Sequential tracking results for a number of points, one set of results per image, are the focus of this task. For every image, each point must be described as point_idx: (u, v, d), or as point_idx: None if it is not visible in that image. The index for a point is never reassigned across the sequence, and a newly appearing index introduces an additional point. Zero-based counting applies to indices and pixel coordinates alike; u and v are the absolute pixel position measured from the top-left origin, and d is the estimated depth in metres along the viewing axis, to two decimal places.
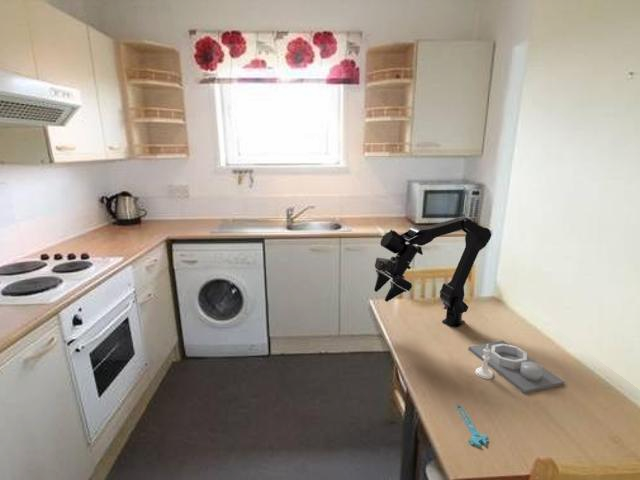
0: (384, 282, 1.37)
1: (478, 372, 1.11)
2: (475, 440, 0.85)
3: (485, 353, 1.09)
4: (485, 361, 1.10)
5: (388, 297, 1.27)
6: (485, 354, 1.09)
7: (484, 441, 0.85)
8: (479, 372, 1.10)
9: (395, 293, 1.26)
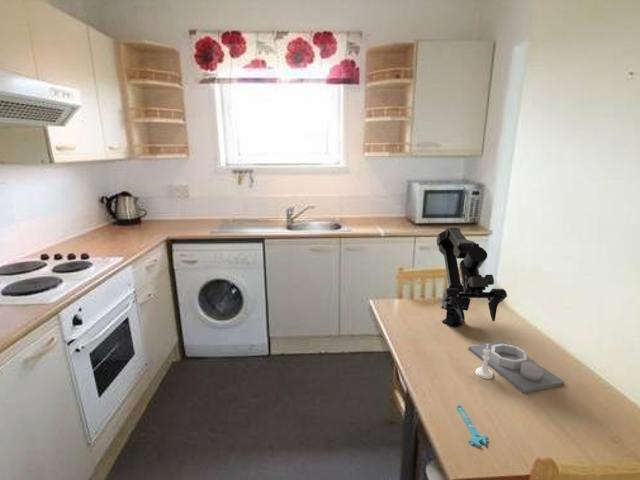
0: None
1: (478, 372, 1.11)
2: (475, 440, 0.86)
3: (485, 353, 1.09)
4: (485, 361, 1.10)
5: None
6: (485, 354, 1.09)
7: (484, 441, 0.85)
8: (479, 372, 1.10)
9: None
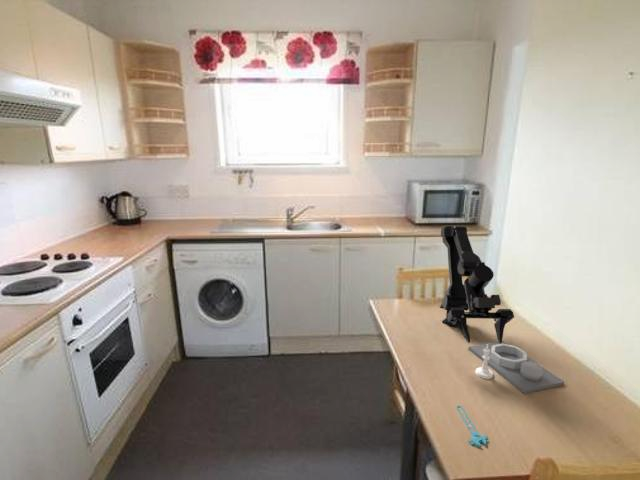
0: None
1: (478, 372, 1.11)
2: (475, 440, 0.86)
3: (485, 353, 1.09)
4: (485, 361, 1.10)
5: None
6: (485, 354, 1.09)
7: (484, 441, 0.85)
8: (479, 372, 1.10)
9: None
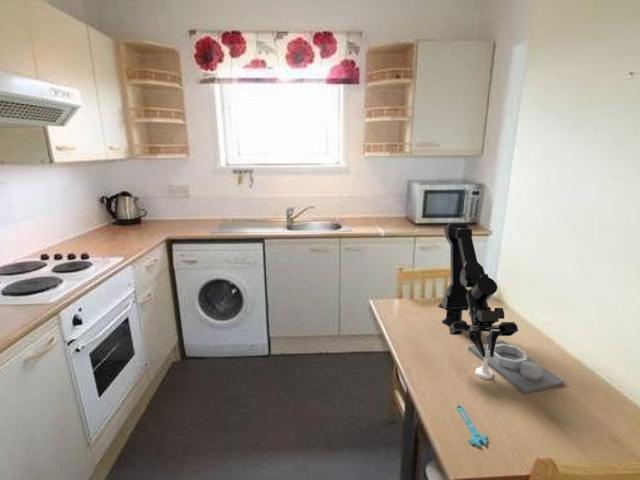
0: None
1: (478, 372, 1.11)
2: (475, 440, 0.86)
3: (485, 353, 1.09)
4: (485, 361, 1.10)
5: None
6: (485, 354, 1.09)
7: (484, 441, 0.85)
8: (479, 372, 1.10)
9: None
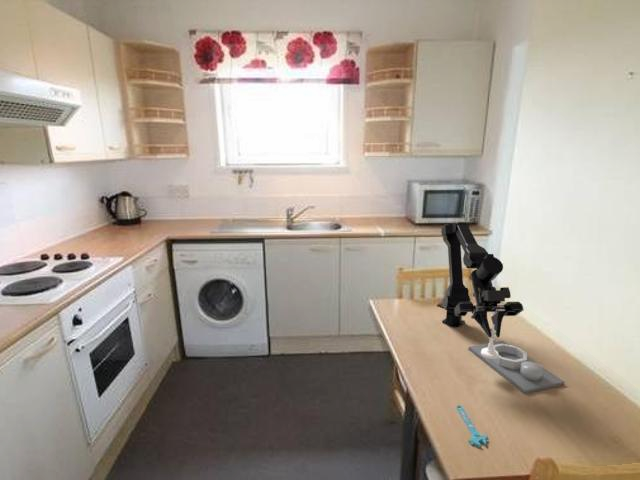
0: None
1: (484, 352, 1.10)
2: (475, 440, 0.86)
3: (491, 333, 1.08)
4: (491, 341, 1.09)
5: None
6: (491, 334, 1.08)
7: (484, 441, 0.85)
8: (485, 352, 1.10)
9: None
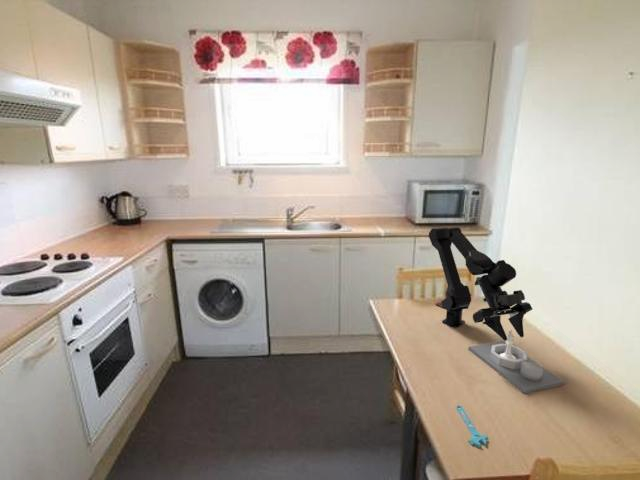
0: None
1: None
2: (475, 440, 0.86)
3: (510, 339, 1.14)
4: (509, 346, 1.15)
5: None
6: (509, 340, 1.15)
7: (484, 441, 0.85)
8: None
9: None
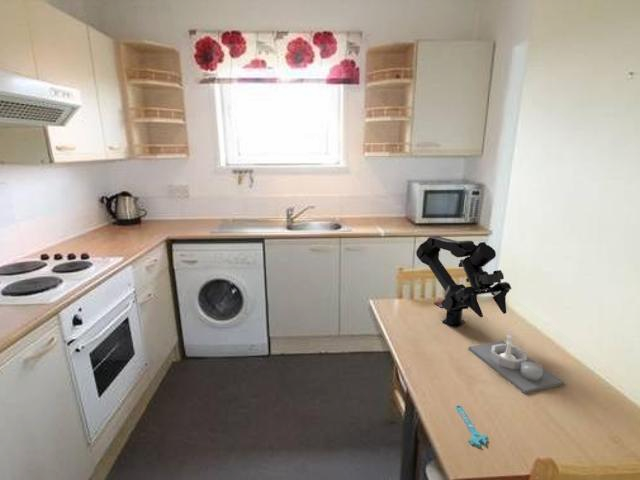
0: None
1: None
2: (475, 440, 0.86)
3: (510, 339, 1.14)
4: (509, 347, 1.15)
5: None
6: (510, 340, 1.15)
7: (484, 441, 0.85)
8: None
9: None
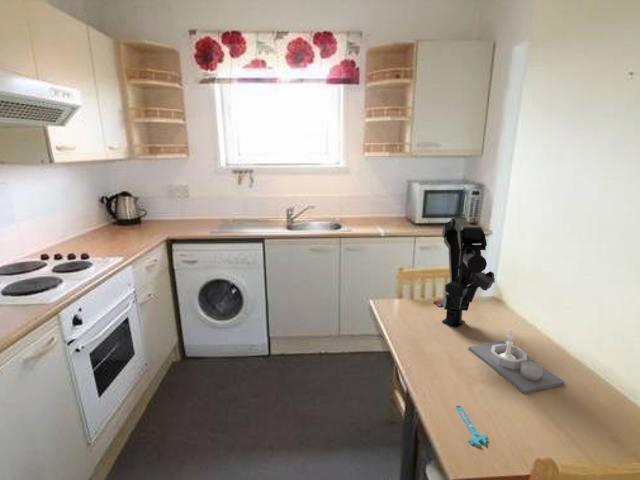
0: None
1: None
2: (475, 440, 0.86)
3: (510, 339, 1.14)
4: (509, 347, 1.15)
5: None
6: (510, 340, 1.15)
7: (484, 441, 0.85)
8: None
9: None
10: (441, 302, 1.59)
